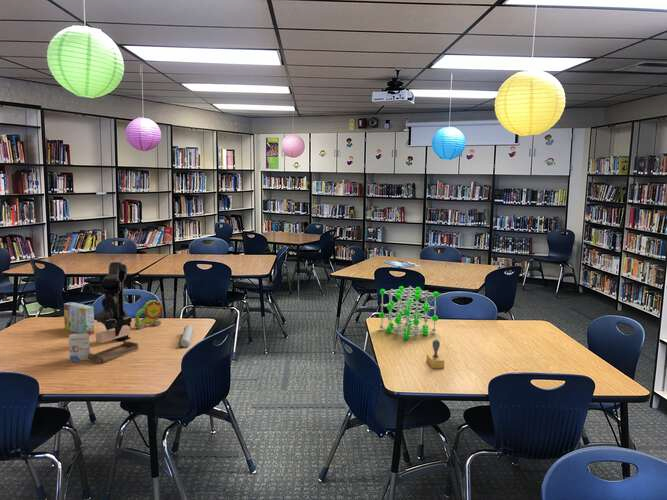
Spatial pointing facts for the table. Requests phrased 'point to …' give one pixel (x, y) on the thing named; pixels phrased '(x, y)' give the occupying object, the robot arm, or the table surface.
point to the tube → (187, 336)
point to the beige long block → (112, 334)
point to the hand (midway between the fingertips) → (113, 335)
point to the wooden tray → (113, 352)
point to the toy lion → (149, 314)
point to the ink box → (79, 346)
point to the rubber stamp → (435, 356)
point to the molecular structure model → (408, 311)
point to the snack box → (79, 318)
